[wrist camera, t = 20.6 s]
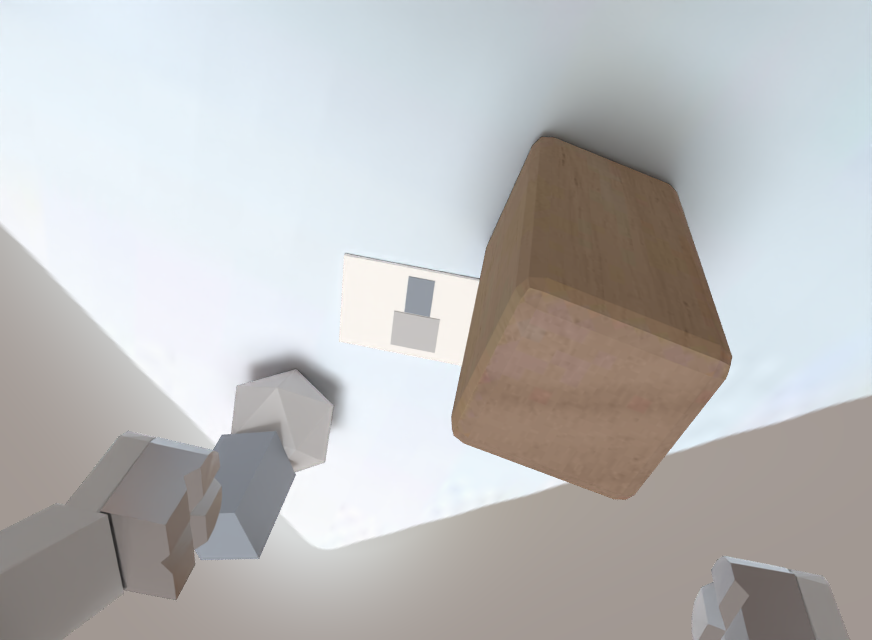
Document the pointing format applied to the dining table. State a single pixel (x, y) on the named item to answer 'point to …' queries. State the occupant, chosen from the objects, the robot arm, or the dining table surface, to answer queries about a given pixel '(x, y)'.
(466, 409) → the block
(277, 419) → the die
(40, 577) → the robot arm
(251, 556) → the brick
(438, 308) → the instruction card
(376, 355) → the dining table surface
